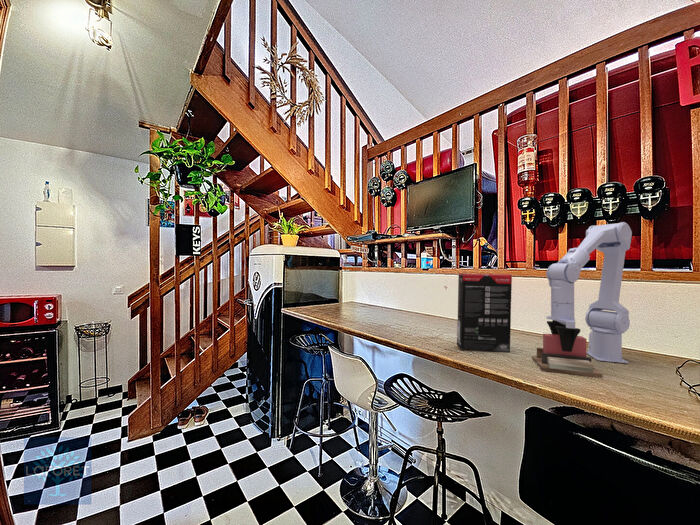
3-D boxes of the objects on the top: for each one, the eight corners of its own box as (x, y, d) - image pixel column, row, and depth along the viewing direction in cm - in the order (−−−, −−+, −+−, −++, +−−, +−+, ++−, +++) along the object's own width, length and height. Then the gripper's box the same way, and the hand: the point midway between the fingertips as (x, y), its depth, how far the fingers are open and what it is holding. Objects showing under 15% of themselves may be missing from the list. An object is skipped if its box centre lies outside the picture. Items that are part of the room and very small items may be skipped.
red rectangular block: (543, 359, 92) (543, 333, 92) (581, 362, 89) (581, 336, 89) (546, 362, 89) (546, 335, 89) (586, 366, 85) (586, 338, 85)
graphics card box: (504, 347, 109) (504, 273, 109) (512, 353, 102) (512, 274, 102) (456, 346, 110) (456, 273, 110) (461, 351, 103) (461, 273, 104)
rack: (532, 358, 95) (532, 346, 96) (584, 364, 91) (584, 351, 91) (542, 371, 84) (542, 357, 84) (602, 377, 79) (602, 363, 79)
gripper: (540, 299, 97) (540, 340, 97) (554, 305, 84) (554, 353, 83) (566, 300, 95) (566, 342, 95) (584, 306, 81) (584, 355, 81)
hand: (562, 347), depth 89 cm, fingers open, 7 cm apart
